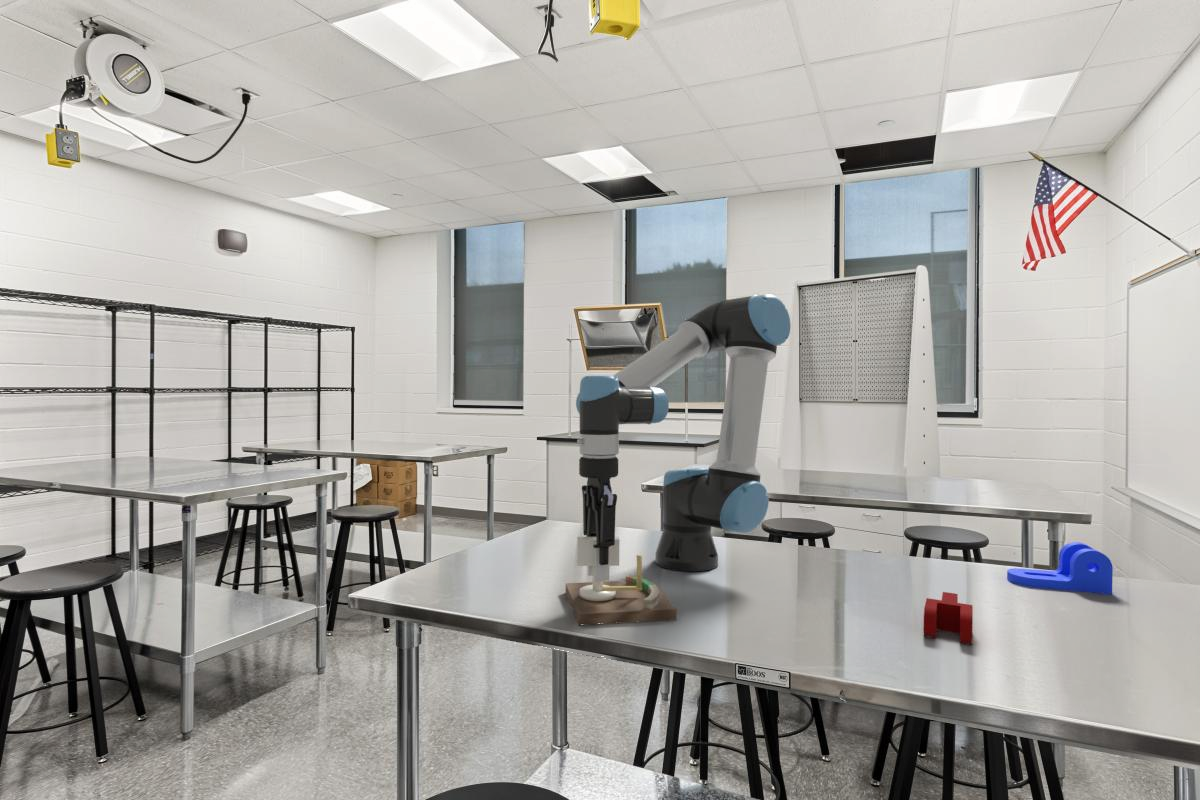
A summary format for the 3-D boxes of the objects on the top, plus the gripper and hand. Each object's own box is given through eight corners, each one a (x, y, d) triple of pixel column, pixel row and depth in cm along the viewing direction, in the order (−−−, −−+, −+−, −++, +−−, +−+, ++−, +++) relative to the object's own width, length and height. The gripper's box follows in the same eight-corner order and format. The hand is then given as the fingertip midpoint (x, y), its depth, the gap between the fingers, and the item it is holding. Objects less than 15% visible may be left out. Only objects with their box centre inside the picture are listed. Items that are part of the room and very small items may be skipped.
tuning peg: (576, 589, 125) (577, 534, 125) (639, 589, 126) (640, 534, 126) (577, 601, 118) (577, 542, 118) (643, 600, 119) (644, 542, 119)
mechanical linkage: (972, 649, 104) (972, 618, 104) (923, 640, 108) (923, 610, 108) (972, 619, 118) (972, 592, 118) (928, 612, 122) (929, 586, 122)
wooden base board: (650, 589, 134) (650, 572, 134) (676, 619, 116) (676, 600, 116) (565, 593, 131) (565, 576, 131) (578, 625, 112) (578, 605, 112)
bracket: (1094, 583, 142) (1095, 543, 141) (1112, 594, 134) (1112, 552, 134) (1002, 576, 147) (1002, 537, 147) (1013, 586, 139) (1014, 545, 139)
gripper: (567, 452, 128) (566, 568, 129) (594, 461, 113) (594, 592, 113) (602, 451, 131) (601, 565, 131) (633, 459, 115) (632, 588, 116)
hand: (598, 577), depth 122 cm, fingers closed on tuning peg, 3 cm apart
